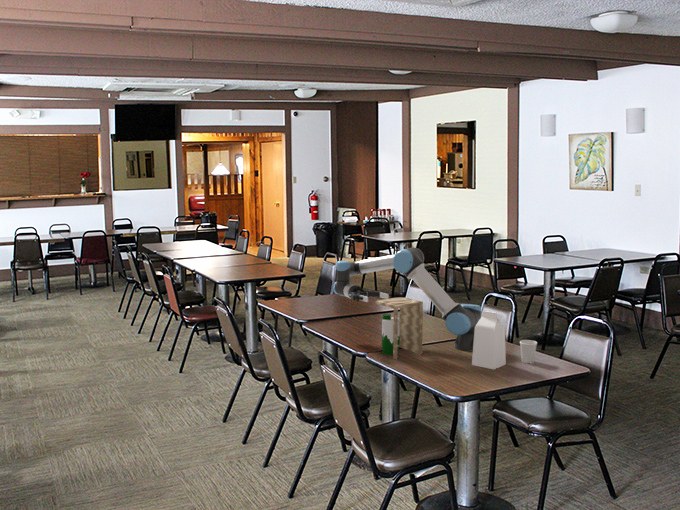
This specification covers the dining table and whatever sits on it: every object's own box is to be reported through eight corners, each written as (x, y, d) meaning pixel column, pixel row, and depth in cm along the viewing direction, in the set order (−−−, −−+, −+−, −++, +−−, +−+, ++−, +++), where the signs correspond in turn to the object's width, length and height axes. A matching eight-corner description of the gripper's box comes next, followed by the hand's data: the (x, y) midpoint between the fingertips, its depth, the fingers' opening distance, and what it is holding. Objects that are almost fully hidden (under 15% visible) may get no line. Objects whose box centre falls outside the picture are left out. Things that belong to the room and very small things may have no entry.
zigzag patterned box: (375, 352, 360) (375, 300, 356) (401, 347, 370) (402, 296, 367) (395, 359, 347) (395, 305, 344) (422, 353, 357) (422, 301, 354)
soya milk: (383, 350, 363) (383, 312, 361) (400, 351, 362) (400, 313, 359) (380, 355, 355) (381, 316, 352) (398, 356, 353) (398, 317, 351)
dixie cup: (523, 364, 338) (523, 344, 336) (516, 359, 346) (516, 340, 344) (539, 363, 339) (540, 343, 338) (532, 359, 347) (532, 339, 346)
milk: (471, 364, 337) (473, 312, 334) (483, 359, 346) (485, 308, 343) (494, 369, 330) (495, 315, 326) (505, 364, 338) (507, 311, 335)
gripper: (371, 296, 388) (396, 302, 371) (334, 301, 373) (358, 308, 356) (371, 282, 387) (396, 288, 370) (334, 287, 372) (358, 293, 355)
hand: (378, 298), depth 363 cm, fingers open, 13 cm apart
